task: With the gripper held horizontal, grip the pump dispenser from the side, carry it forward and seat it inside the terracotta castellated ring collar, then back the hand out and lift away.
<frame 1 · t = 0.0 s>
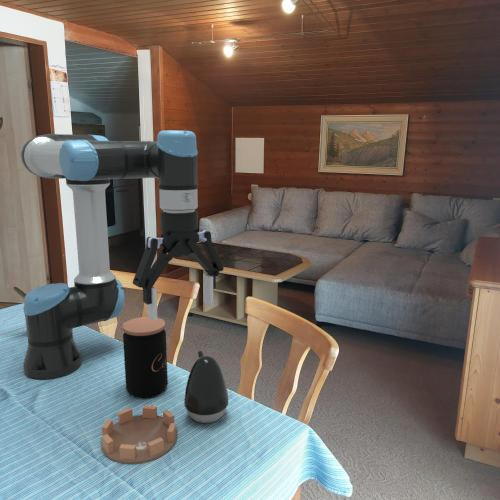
hand: (181, 311, 95), 28 cm above the table, tool pointing down, fingers open, 13 cm apart
pump dispenser: (206, 417, 107), on the table
coffee jar: (147, 389, 118), on the table
castellated collar: (140, 439, 98), on the table
wooden mug: (39, 333, 153), on the table
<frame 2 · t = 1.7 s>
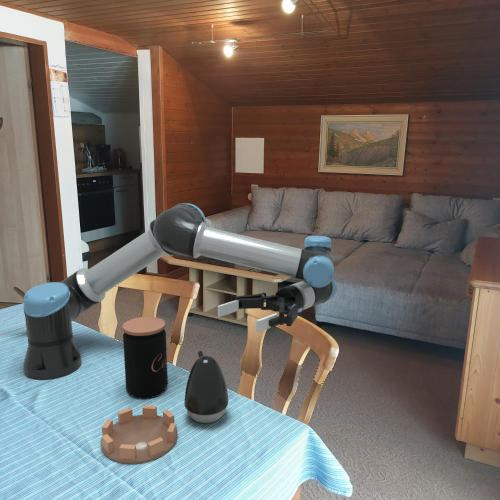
hand: (237, 318, 108), 22 cm above the table, tool horizontal, fingers open, 13 cm apart
nothing on the table moved.
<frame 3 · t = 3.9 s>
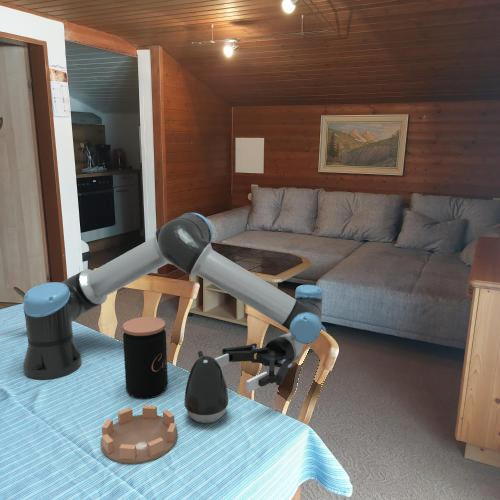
hand: (226, 376, 108), 8 cm above the table, tool horizontal, fingers open, 13 cm apart
nothing on the table moved.
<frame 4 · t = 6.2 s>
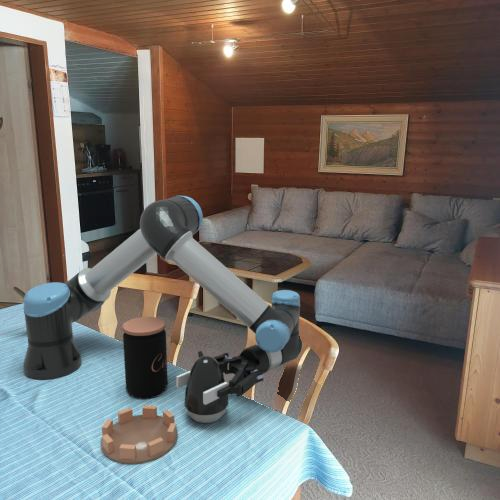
hand: (190, 390, 102), 9 cm above the table, tool horizontal, fingers closed on pump dispenser, 9 cm apart
pump dispenser: (206, 417, 106), on the table, touching gripper
everything else where it was.
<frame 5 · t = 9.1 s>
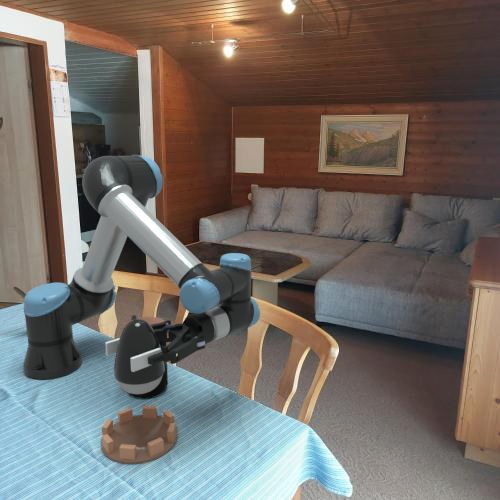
hand: (118, 356, 91), 21 cm above the table, tool horizontal, fingers closed on pump dispenser, 9 cm apart
pump dispenser: (140, 388, 95), point 12 cm above the table, touching gripper
everything else where it was.
when the fingers open (11 cm above the table, at t = 12.0 s): pump dispenser drops 2 cm, resting on castellated collar.
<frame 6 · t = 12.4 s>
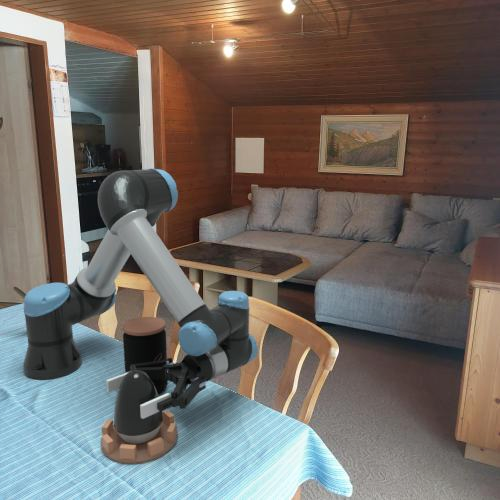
hand: (123, 398, 93), 11 cm above the table, tool horizontal, fingers open, 13 cm apart
pump dispenser: (140, 436, 98), point 1 cm above the table, touching castellated collar
everything else where it was.
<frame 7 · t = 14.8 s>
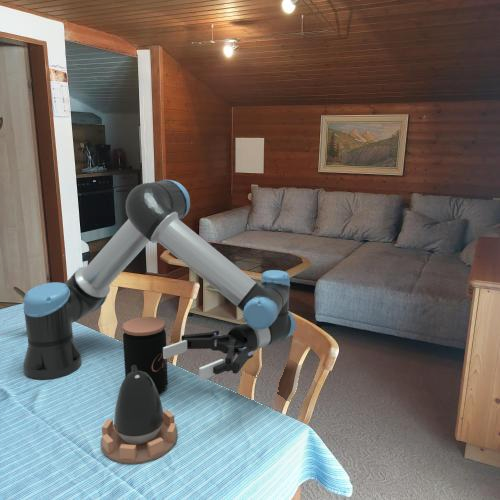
hand: (180, 363, 102), 14 cm above the table, tool horizontal, fingers open, 13 cm apart
nothing on the table moved.
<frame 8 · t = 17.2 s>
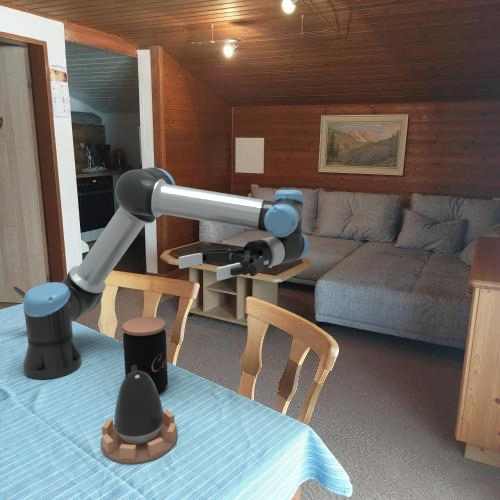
hand: (197, 268, 102), 35 cm above the table, tool horizontal, fingers open, 13 cm apart
nothing on the table moved.
at the end: pump dispenser 0.2 cm off-centre on the castellated collar, point 0.6 cm above the castellated collar's base; pump dispenser tilted 0°; the gripper is holding nothing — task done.
